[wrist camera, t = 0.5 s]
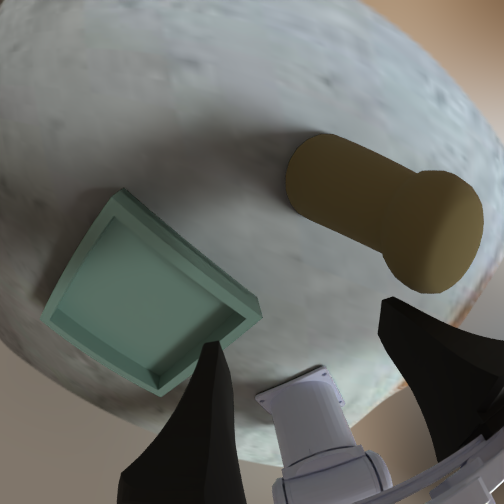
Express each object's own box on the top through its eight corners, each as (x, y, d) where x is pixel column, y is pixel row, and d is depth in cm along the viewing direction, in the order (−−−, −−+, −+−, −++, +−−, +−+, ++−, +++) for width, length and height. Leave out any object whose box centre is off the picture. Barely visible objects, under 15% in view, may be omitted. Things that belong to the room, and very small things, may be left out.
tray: (257, 297, 22) (262, 317, 19) (163, 377, 24) (160, 397, 22) (123, 187, 17) (111, 196, 15) (51, 302, 19) (39, 319, 17)
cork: (279, 221, 18) (393, 332, 9) (290, 127, 16) (447, 160, 6) (354, 221, 20) (470, 302, 11) (367, 141, 17) (508, 184, 8)
